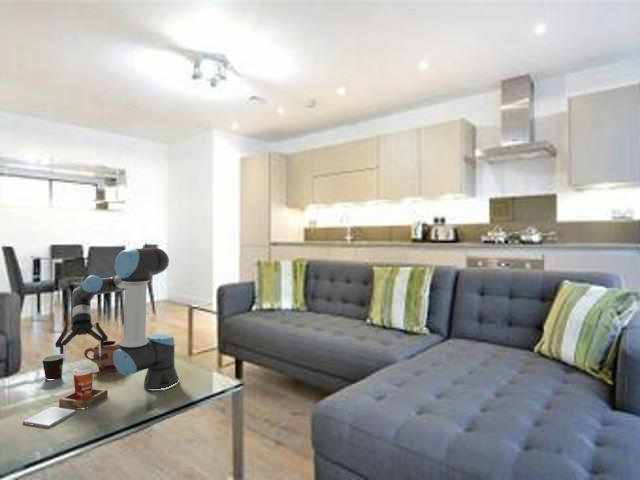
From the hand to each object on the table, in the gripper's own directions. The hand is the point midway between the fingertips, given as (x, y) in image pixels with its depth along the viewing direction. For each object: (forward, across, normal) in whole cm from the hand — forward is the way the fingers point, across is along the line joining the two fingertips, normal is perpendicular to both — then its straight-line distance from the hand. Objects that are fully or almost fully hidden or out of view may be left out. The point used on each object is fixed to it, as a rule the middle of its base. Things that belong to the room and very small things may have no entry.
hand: (82, 357), depth 174 cm
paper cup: (+18, 0, -4) cm, 19 cm away
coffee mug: (-8, +11, -30) cm, 33 cm away
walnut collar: (+18, 0, -4) cm, 19 cm away
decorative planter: (-7, -10, -29) cm, 32 cm away
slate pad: (+25, +11, +3) cm, 28 cm away
